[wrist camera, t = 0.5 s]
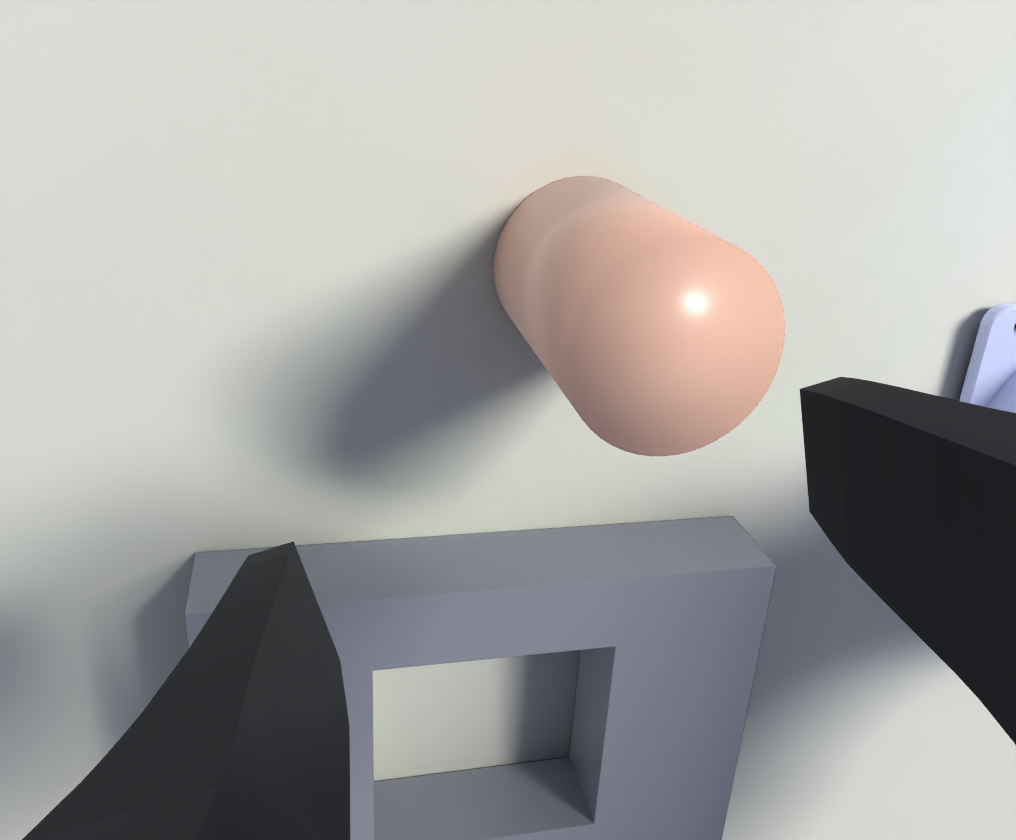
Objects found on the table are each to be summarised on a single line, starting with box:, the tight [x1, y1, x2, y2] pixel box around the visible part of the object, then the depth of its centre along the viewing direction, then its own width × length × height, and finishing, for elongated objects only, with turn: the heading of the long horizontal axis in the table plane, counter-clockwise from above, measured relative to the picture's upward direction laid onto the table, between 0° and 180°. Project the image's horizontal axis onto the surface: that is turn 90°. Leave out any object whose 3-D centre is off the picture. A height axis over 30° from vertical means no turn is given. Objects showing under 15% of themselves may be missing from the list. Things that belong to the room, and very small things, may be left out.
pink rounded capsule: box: [494, 176, 785, 456], centre depth 18 cm, size 4×4×6 cm
